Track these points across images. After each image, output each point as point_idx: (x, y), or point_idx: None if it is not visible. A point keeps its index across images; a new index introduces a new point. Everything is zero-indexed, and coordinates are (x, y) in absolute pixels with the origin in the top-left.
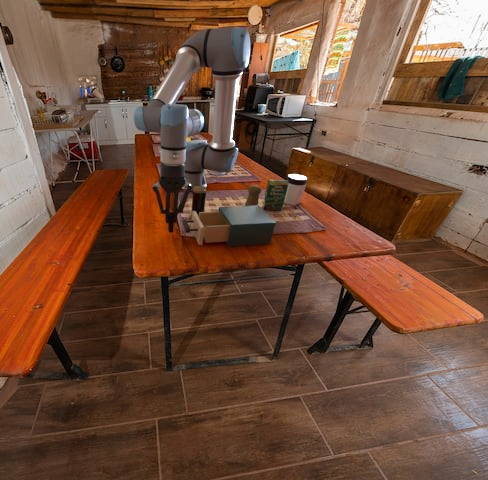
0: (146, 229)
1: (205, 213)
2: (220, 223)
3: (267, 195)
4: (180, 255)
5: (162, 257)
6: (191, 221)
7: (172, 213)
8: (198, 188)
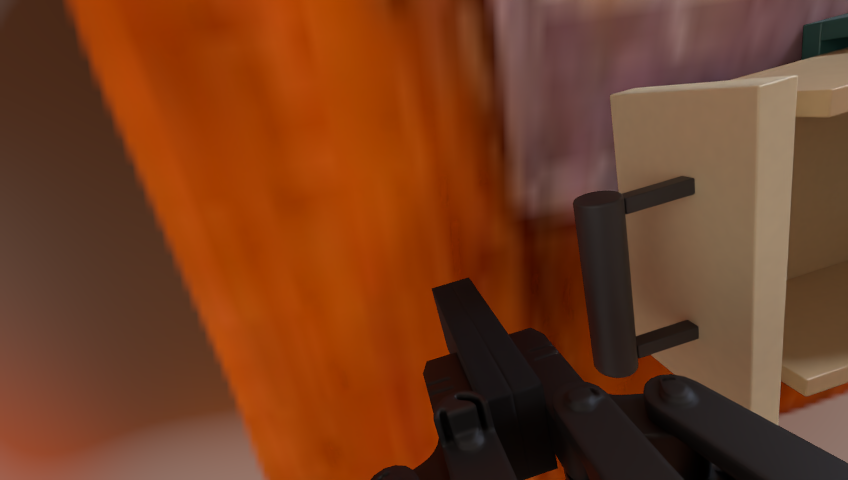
0: (202, 160)
1: None
2: None
3: None
4: None
5: (411, 464)
6: (669, 201)
7: (538, 426)
8: None
